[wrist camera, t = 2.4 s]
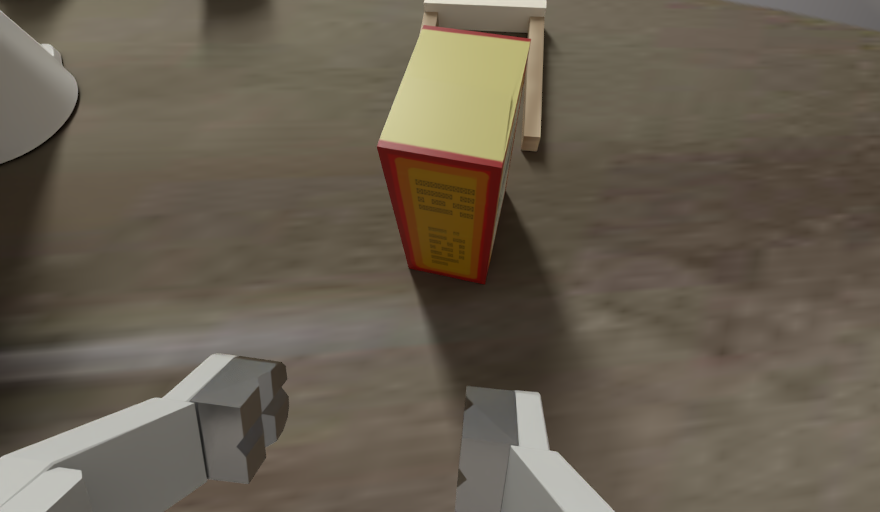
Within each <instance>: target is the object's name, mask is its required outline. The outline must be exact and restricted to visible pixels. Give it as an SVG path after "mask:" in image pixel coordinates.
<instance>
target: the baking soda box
mask: <svg viewBox="0 0 880 512" xmlns="http://www.w3.org/2000/svg"><path fill="white" fill-rule="evenodd" d="M530 43H531V39H529V38H521V37H514V36H506V35H498V34H490V33H483V32H475V31H467V30H460V29H452V28H444V27H436V26H429V25H423V28H422V31H421V33H420V36H419V38H418V41H417V43H416V46H415V49H414V51H413V54H412V56H411V59H410V62H409V64H408V67H407V69H406V72H405V75H404V77H403V80H402V82H401V85H400V87H399V90H398V93H397V95H396V98H395V100H394V103H393V106H392V108H391V111H390V113H389V116H388V119H387V121H386V124H385V126H384V129H383V131H382V134H381V137H380V139H379V142H378V144H377V149H378V153H379V157H380V160H381V164H382V168H383V172H384V176H385V179H386V183H387V187H388V191H389V195H390V198H391V202H392V206H393V210H394V214H395V217H396V221H397V225H398V229H399V233H400V236H401V240H402V244H403V248H404V252H405V255H406V259H407V263H408V267H409V269H414V270H419V271H424V272H428V273H433V274H438V275H442V276H447V277H452V278H457V279H461V280H466V281H471V282H475V283H480V284H485V282H486V278H487V273H488V268H489V264H490V259H491V255H492V250H493V245H494V241H495V236H496V232H497V227H498V222H499V218H500V213H501V209H502V204H503V199H504V195H505V190H506V184H507V178H508V173H509V167H510V161H511V155H512V149H513V143H514V137H515V131H516V125H517V120H518V114H519V108H520V102H521V96H522V90H523V84H524V78H525V73H526V67H527V61H528V55H529V49H530Z"/></svg>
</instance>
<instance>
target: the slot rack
mask: <svg viewBox="0 0 880 512" xmlns="http://www.w3.org/2000/svg"><path fill="white" fill-rule="evenodd" d="M424 10H425V12H424V17H423V21H422V26H421V31H422V28H423V25H429V26H436V27H444V28H452V29H460V30H477V31H498V32H518V33H528V35H527V38H529V39H531V43H530V49H529V55H528V61H527V67H526V73H525V88H524V106H523V124H522V142H521V150H524V151H537V149H538V145H539V141H540V137H541V107H542V76H543V45H544V16H545V11H546V0H424ZM421 31H420V33H421Z"/></svg>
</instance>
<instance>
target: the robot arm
mask: <svg viewBox="0 0 880 512" xmlns="http://www.w3.org/2000/svg"><path fill="white" fill-rule="evenodd" d="M77 97H78V86H77V83H76V80H75V78H74V77H73V75H72V74H71V73H70V72H68V71H67V70H66V69H65V68H64V67H63V65H62V59H61V54H60V53H59V51H57V50H56V49H55V48H54V47H53V46H52V45H50V44H39V43H38V42H37V41H35V40H34V39H33V38H32V37H31V36H30V35H28V34H27V33H26V32H25V31H24V30H23V29H22V28H20V27H19V26H18V25H17V24H16V23H15V22H13V21H12V20H11V19H10V18H9V17H8V16H6V15H5V14H4V13H3V12H2V11H1V10H0V164H1V163H4V162H6V161H9V160H12V159H14V158H17V157H19V156H21V155H23V154H25V153H27V152H29V151H31V150H33V149H34V148H36V147H37V146H39V145H40V144H42V143H43V142H45V141H46V140H47V139H49V138H50V137H51V136H52V135H53V134H54V133H55V132H56V131H58V129H59V128H60V127H61V126H62V125H63V124H64V123H65V122H66V120H67V119H68V117H69V116H70V114H71V113H72V111H73V109H74V107H75V104H76V101H77ZM286 380H287V372H286V366H285V365H284V364H283V363H282V362H277V361H271V360H264V359H257V358H250V357H243V356H236V355H228V354H220V353H218V354H213V355H211V356H210V357H208V358H207V359H206V360H205V361H204V362H203V363H202V364H201V365H199V366H198V367H197V368H196V369H195V370H194V371H193V372H191V373H190V374H189V375H188V376H187V377H186V378H185V379H184V380H182V381H181V382H180V383H179V384H178V385H177V386H176V387H174V388H173V389H172V390H171V391H170V392H169V393H168V394H167V395H165V396H164V397H163V398H152V399H150V400H147V401H144V402H142V403H139V404H137V405H134V406H131V407H129V408H126V409H124V410H121V411H118V412H116V413H113V414H111V415H108V416H105V417H103V418H100V419H98V420H95V421H92V422H90V423H87V424H85V425H82V426H79V427H77V428H74V429H72V430H69V431H66V432H64V433H61V434H59V435H56V436H53V437H51V438H48V439H46V440H43V441H40V442H38V443H35V444H33V445H30V446H27V447H25V448H22V449H20V450H17V451H14V452H12V453H9V454H7V455H4V456H2V457H1V458H0V512H164V511H165V510H167V509H168V508H169V507H171V506H172V505H174V504H175V503H177V502H178V501H180V500H181V499H182V498H184V497H185V496H187V495H188V494H190V493H191V492H193V491H194V490H195V489H197V488H198V487H200V486H201V485H203V484H204V483H206V482H207V479H212V480H220V481H228V482H237V483H245V484H249V483H250V482H251V480H252V479H253V477H254V475H255V474H256V472H257V471H258V469H259V468H260V466H261V465H262V463H263V462H264V460H265V458H266V450H265V447H267V446H269V445H271V444H272V443H274V442H276V441H277V440H278V438H279V436H280V435H281V433H282V432H283V429H284V427H285V424H286V421H287V418H288V411H289V396H288V395H287V394H286V392H285V391H284V390H283V389H282V386H283V384H284V383H285V382H286ZM455 512H615V511H614V510H613V509H612V508H611V507H610V506H609V505H608V504H607V503H606V502H605V501H604V500H603V499H602V498H601V497H600V496H599V495H598V494H597V492H596V491H595V490H594V489H593V488H592V487H591V486H590V485H589V484H588V483H587V482H586V481H585V480H584V479H583V478H582V477H581V476H580V475H579V474H578V473H577V472H576V471H575V470H574V468H573V467H572V466H571V465H570V464H569V463H568V462H567V461H566V460H565V459H564V458H563V457H562V456H561V455H560V454H559V453H558V452H556V451H550V449H549V443H548V437H547V431H546V425H545V419H544V413H543V407H542V401H541V395H540V394H539V393H538V392H529V391H518V390H514V391H511V390H502V389H493V388H485V387H476V386H467V388H466V398H465V407H464V417H463V428H462V437H461V448H460V459H459V469H458V481H457V492H456V504H455Z"/></svg>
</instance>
